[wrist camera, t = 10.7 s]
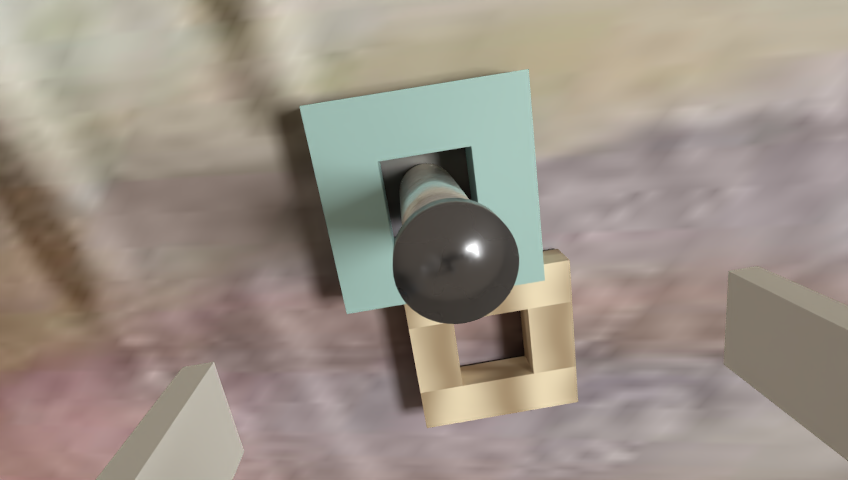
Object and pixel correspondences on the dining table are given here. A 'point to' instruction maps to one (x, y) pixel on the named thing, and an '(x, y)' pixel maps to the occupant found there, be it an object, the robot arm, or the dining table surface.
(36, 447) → the dining table surface
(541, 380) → the mount
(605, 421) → the dining table surface
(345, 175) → the dock
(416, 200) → the pin
